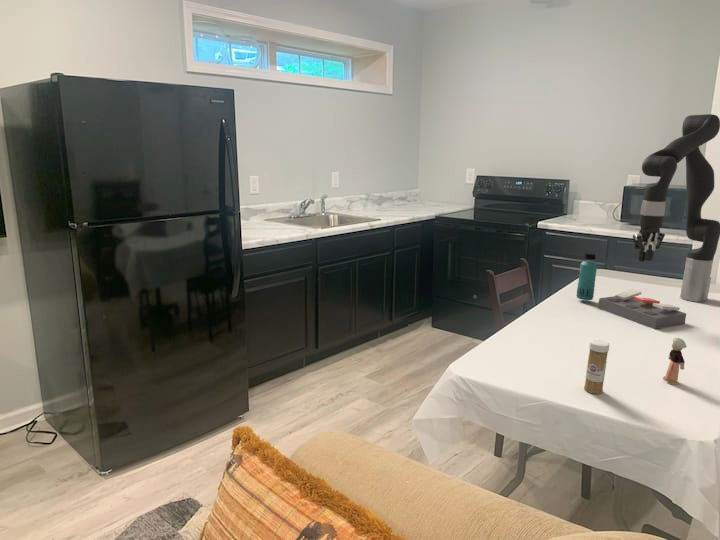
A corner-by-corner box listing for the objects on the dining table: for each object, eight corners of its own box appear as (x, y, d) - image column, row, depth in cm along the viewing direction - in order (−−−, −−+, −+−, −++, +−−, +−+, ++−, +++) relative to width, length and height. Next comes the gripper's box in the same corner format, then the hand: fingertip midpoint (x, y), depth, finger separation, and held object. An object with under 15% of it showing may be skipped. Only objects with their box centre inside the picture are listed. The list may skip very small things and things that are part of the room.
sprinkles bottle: (582, 391, 139) (588, 343, 135) (585, 385, 142) (591, 337, 139) (601, 396, 136) (608, 346, 133) (604, 389, 140) (610, 341, 137)
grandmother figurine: (656, 376, 148) (663, 333, 145) (669, 375, 149) (676, 333, 146) (674, 388, 141) (682, 343, 138) (688, 388, 141) (696, 343, 138)
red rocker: (649, 302, 203) (650, 298, 203) (658, 305, 199) (660, 301, 199) (632, 301, 199) (634, 296, 199) (642, 304, 196) (643, 299, 195)
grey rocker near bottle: (632, 293, 210) (632, 288, 209) (641, 295, 206) (641, 291, 206) (615, 299, 207) (615, 294, 206) (624, 302, 203) (624, 297, 203)
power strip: (626, 304, 213) (627, 293, 212) (684, 324, 191) (686, 312, 190) (598, 308, 208) (599, 297, 207) (654, 329, 185) (656, 317, 184)
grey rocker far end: (668, 309, 196) (669, 304, 195) (678, 312, 192) (679, 307, 192) (651, 307, 192) (653, 302, 192) (661, 310, 188) (663, 305, 188)
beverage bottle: (590, 299, 219) (596, 251, 214) (595, 304, 212) (601, 255, 208) (573, 298, 219) (579, 251, 215) (578, 303, 213) (584, 254, 208)
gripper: (657, 211, 196) (650, 257, 200) (629, 212, 190) (622, 260, 195) (675, 214, 189) (668, 261, 193) (647, 215, 184) (640, 264, 188)
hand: (645, 260), depth 194 cm, fingers open, 3 cm apart
